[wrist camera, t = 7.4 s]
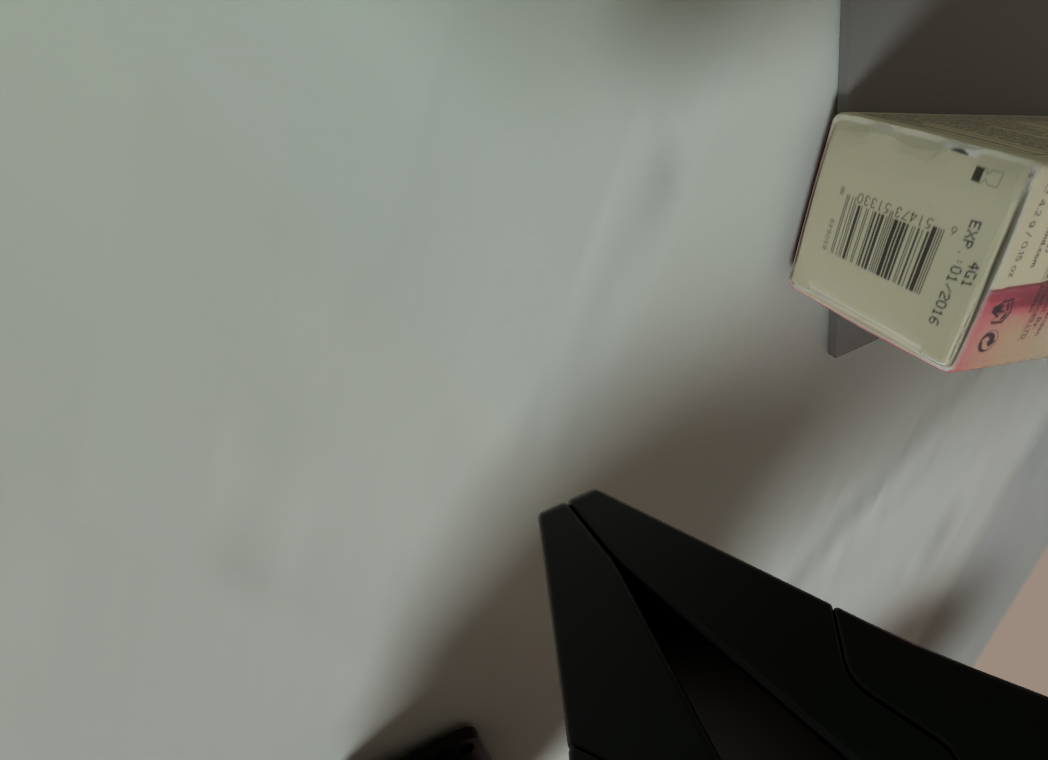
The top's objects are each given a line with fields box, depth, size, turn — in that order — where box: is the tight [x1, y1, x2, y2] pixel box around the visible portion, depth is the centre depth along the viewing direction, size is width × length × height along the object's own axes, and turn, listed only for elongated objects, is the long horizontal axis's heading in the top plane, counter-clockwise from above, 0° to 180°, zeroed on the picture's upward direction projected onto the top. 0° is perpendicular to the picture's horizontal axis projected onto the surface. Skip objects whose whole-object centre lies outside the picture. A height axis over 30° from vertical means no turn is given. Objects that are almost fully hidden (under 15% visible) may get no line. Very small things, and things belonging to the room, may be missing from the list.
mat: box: [828, 0, 1048, 358], centre depth 18 cm, size 12×12×1 cm
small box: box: [789, 112, 1048, 372], centre depth 16 cm, size 5×4×8 cm
